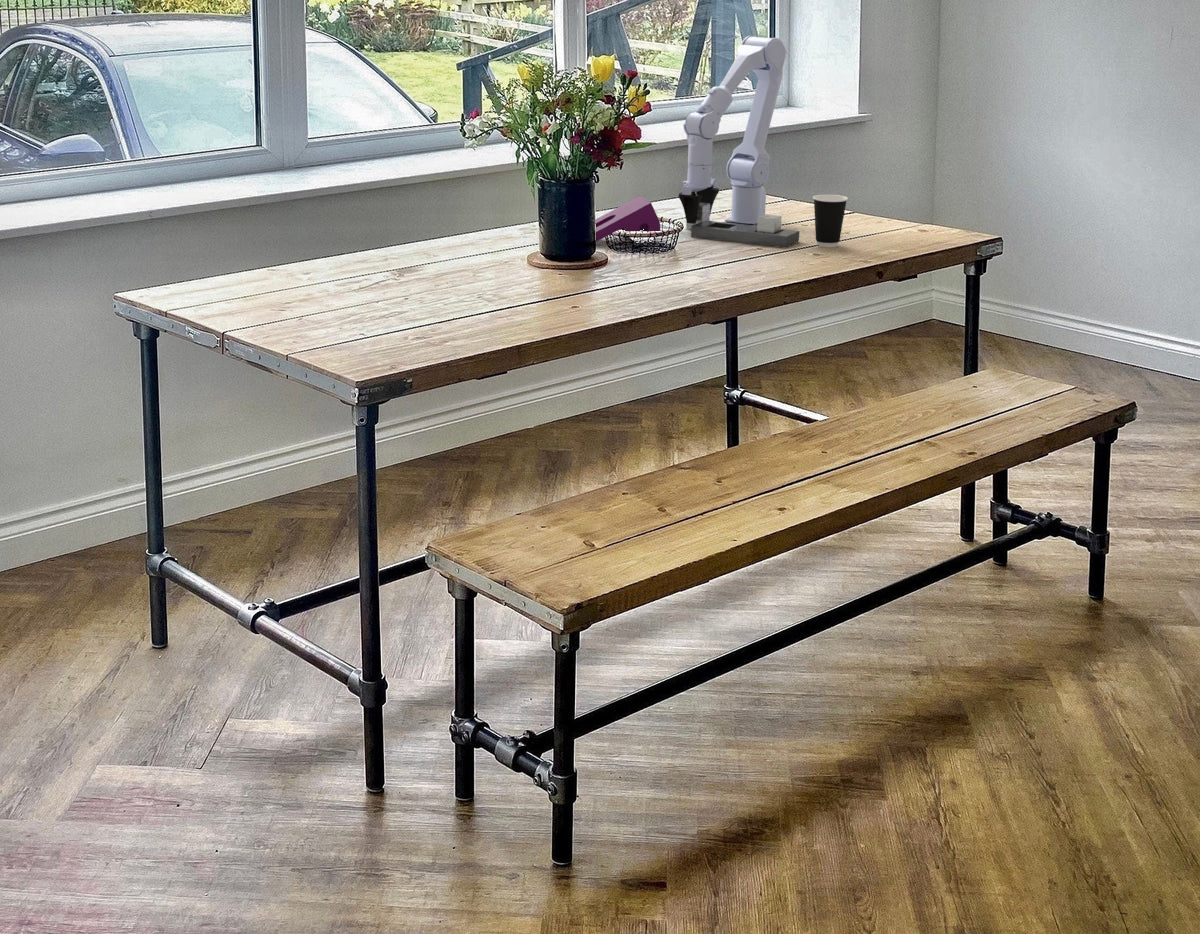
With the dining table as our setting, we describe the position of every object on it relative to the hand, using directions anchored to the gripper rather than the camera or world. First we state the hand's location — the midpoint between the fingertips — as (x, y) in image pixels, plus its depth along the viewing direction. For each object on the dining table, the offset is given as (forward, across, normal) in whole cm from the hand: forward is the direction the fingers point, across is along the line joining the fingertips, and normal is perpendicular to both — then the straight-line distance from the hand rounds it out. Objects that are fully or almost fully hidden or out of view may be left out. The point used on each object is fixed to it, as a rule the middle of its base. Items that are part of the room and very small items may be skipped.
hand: (698, 220), depth 347 cm
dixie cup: (+2, +2, +34) cm, 34 cm away
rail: (+2, +6, +15) cm, 16 cm away
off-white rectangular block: (+2, +6, +21) cm, 22 cm away
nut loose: (+2, 0, 0) cm, 2 cm away
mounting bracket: (+2, +23, -10) cm, 25 cm away
